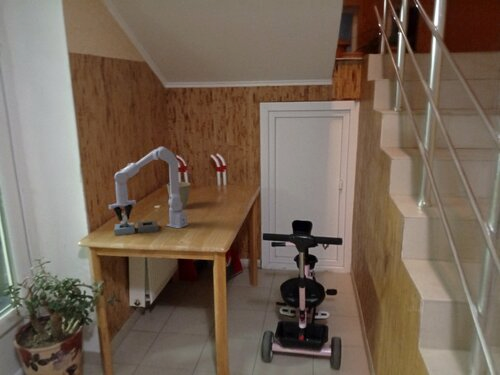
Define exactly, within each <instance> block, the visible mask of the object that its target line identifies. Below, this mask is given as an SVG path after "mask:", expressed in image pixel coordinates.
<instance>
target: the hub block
mask: <svg viewBox="0 0 500 375" xmlns="http://www.w3.org/2000/svg"><path fill="white" fill-rule="evenodd" d="M135 226H136V225H135V222H128V227H124V228H121V223H115V224H114V229H113V230H114V236H121V235H122V236H123V235H124V236H125V235H133V234H135V233H136V229H135V228H136V227H135Z"/></svg>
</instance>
